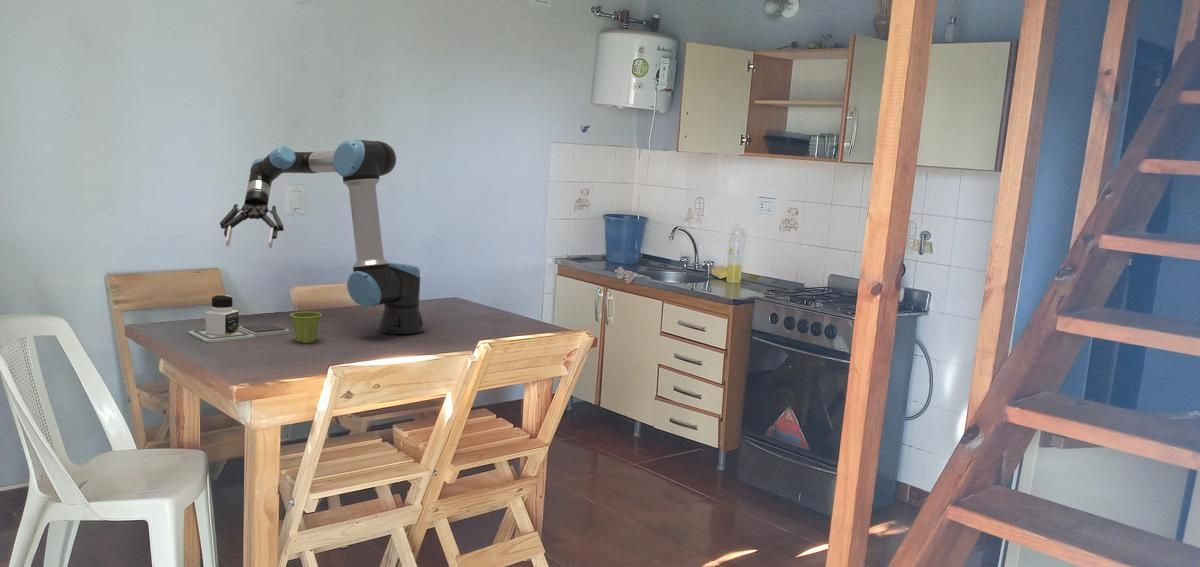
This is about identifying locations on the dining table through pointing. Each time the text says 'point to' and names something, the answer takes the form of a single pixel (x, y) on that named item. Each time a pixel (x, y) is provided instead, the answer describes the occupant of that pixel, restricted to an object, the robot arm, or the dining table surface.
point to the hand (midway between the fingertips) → (248, 244)
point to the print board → (216, 338)
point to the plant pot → (306, 326)
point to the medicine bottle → (222, 317)
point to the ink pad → (264, 329)
